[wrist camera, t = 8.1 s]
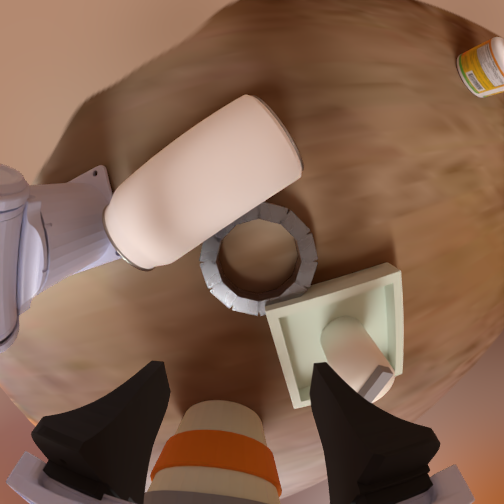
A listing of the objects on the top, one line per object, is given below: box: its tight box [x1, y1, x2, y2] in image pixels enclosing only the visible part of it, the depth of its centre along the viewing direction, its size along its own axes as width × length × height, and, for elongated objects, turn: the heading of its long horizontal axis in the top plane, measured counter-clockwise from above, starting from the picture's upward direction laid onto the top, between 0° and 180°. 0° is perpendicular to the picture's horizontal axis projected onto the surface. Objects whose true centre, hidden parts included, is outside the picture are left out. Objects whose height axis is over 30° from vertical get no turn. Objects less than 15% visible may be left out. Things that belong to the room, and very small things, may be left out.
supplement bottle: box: [457, 37, 504, 97], centre depth 12 cm, size 5×5×10 cm
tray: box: [265, 262, 404, 409], centre depth 22 cm, size 11×11×2 cm
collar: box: [199, 201, 318, 316], centre depth 20 cm, size 8×8×2 cm
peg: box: [320, 316, 395, 403], centre depth 18 cm, size 4×4×8 cm
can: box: [102, 95, 304, 271], centre depth 17 cm, size 6×6×12 cm
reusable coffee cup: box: [144, 400, 282, 504], centre depth 18 cm, size 13×12×15 cm
